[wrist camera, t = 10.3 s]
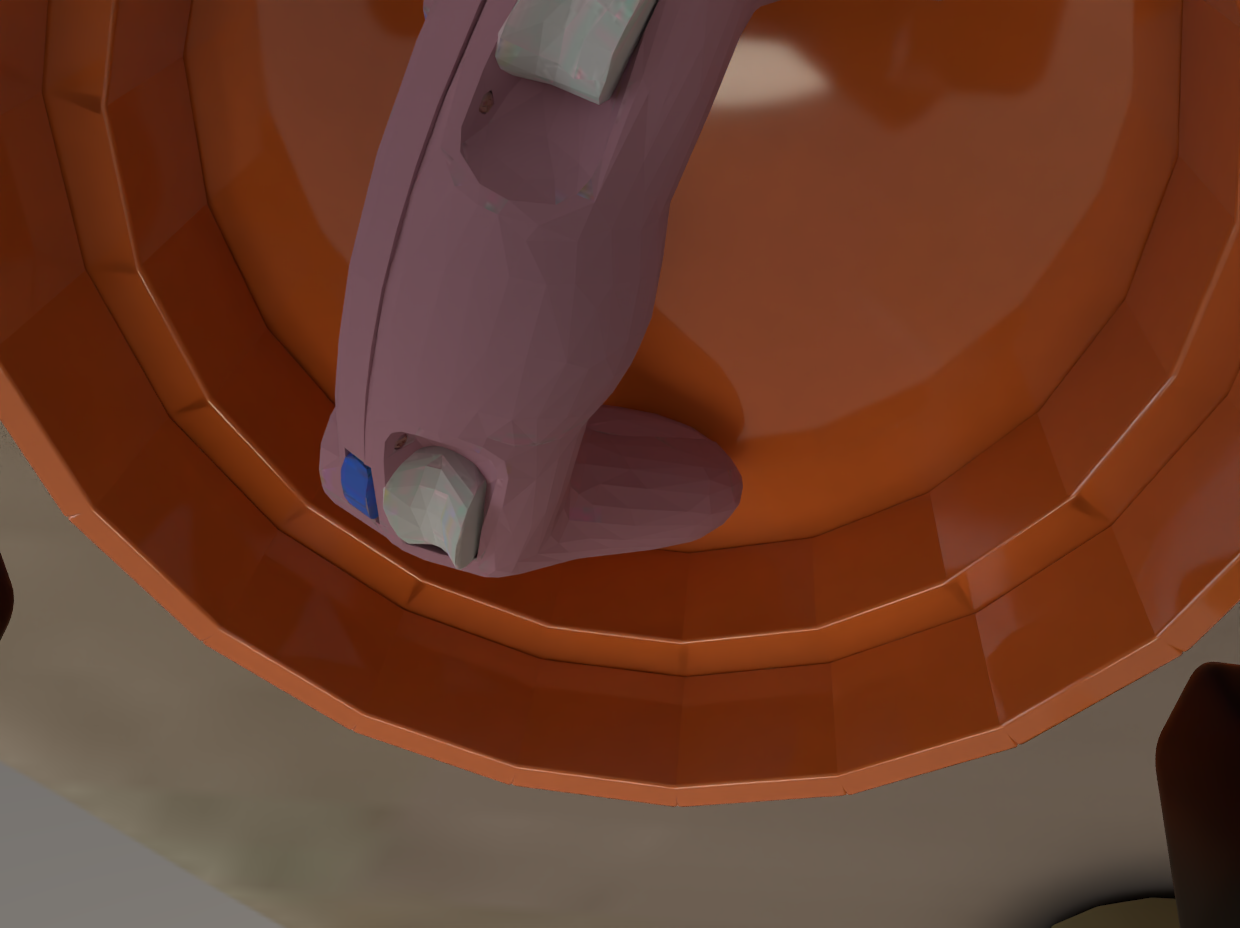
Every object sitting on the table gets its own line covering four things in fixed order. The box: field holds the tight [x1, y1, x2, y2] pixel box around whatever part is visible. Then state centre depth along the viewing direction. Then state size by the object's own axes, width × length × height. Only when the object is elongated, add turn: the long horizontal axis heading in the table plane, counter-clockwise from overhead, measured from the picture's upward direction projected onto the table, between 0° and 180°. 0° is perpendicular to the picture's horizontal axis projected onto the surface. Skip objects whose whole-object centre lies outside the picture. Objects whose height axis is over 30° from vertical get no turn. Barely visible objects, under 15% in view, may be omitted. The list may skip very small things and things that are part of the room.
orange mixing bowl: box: [0, 0, 1240, 807], centre depth 14 cm, size 16×16×5 cm
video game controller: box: [319, 0, 941, 578], centre depth 13 cm, size 10×5×7 cm, turn 162°
